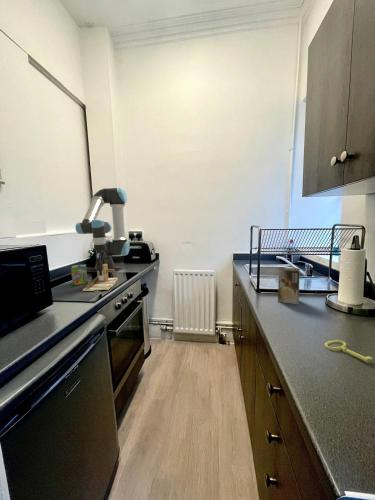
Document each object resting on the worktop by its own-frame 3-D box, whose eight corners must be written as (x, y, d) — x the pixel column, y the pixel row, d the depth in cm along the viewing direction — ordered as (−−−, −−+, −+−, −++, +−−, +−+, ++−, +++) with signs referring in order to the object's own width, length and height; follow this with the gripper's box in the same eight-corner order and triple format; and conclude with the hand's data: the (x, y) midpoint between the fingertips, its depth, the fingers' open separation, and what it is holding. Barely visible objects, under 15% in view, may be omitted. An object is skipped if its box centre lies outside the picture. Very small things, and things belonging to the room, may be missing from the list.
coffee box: (298, 300, 110) (300, 268, 107) (298, 304, 104) (300, 271, 101) (278, 297, 114) (279, 266, 111) (277, 301, 108) (278, 269, 106)
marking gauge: (100, 278, 151) (99, 264, 149) (116, 277, 151) (114, 263, 150) (98, 281, 145) (96, 266, 143) (113, 280, 145) (112, 265, 144)
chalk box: (73, 282, 151) (70, 260, 149) (87, 280, 155) (85, 259, 153) (72, 286, 143) (69, 263, 141) (88, 283, 147) (85, 261, 144)
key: (369, 367, 63) (370, 360, 63) (321, 348, 72) (322, 342, 72) (376, 356, 67) (376, 350, 67) (330, 339, 77) (330, 334, 76)
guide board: (95, 280, 153) (94, 275, 152) (117, 279, 154) (117, 274, 153) (82, 292, 131) (82, 286, 130) (109, 290, 132) (108, 284, 131)
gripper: (98, 242, 153) (101, 275, 157) (88, 246, 134) (92, 283, 138) (109, 241, 153) (112, 274, 157) (101, 245, 135) (105, 282, 139)
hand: (103, 278), depth 148 cm, fingers closed on marking gauge, 6 cm apart
